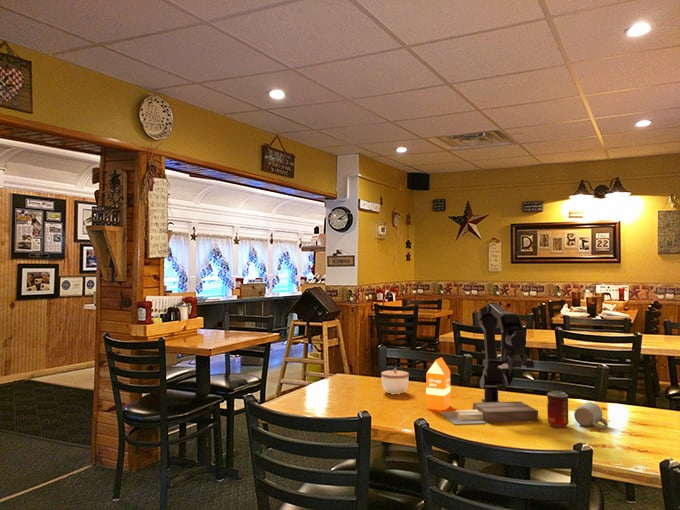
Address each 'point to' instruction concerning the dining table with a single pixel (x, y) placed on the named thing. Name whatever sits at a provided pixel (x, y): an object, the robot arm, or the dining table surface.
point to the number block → (468, 414)
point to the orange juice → (438, 386)
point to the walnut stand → (506, 412)
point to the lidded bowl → (395, 381)
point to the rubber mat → (456, 421)
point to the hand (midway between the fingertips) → (508, 385)
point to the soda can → (557, 409)
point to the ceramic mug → (590, 415)
